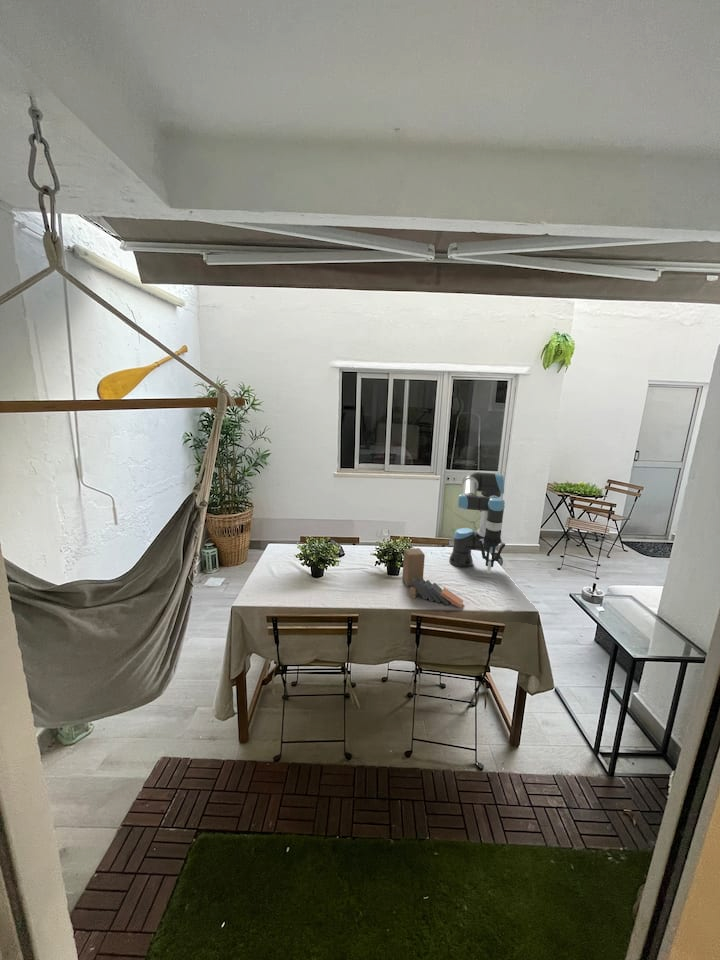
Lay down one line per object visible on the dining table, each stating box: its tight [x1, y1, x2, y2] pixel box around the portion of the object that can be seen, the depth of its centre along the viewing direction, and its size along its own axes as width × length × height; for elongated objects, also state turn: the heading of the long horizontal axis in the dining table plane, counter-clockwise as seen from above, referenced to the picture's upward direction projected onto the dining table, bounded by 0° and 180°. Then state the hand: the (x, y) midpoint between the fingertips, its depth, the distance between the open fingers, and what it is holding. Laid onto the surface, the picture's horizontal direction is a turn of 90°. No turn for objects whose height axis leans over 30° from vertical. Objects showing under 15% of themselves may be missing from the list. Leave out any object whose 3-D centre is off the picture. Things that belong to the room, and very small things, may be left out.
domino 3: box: [423, 579, 442, 604], centre depth 224 cm, size 2×6×12 cm
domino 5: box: [441, 587, 464, 609], centre depth 220 cm, size 2×6×12 cm
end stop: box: [409, 584, 420, 600], centre depth 228 cm, size 8×3×6 cm, turn 157°
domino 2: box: [417, 577, 435, 603], centre depth 225 cm, size 2×6×12 cm
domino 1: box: [411, 576, 429, 600], centre depth 226 cm, size 2×6×12 cm
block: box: [402, 547, 425, 587], centre depth 241 cm, size 10×10×20 cm
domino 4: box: [430, 582, 451, 606], centre depth 222 cm, size 2×6×12 cm
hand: (488, 572), depth 209 cm, fingers closed
